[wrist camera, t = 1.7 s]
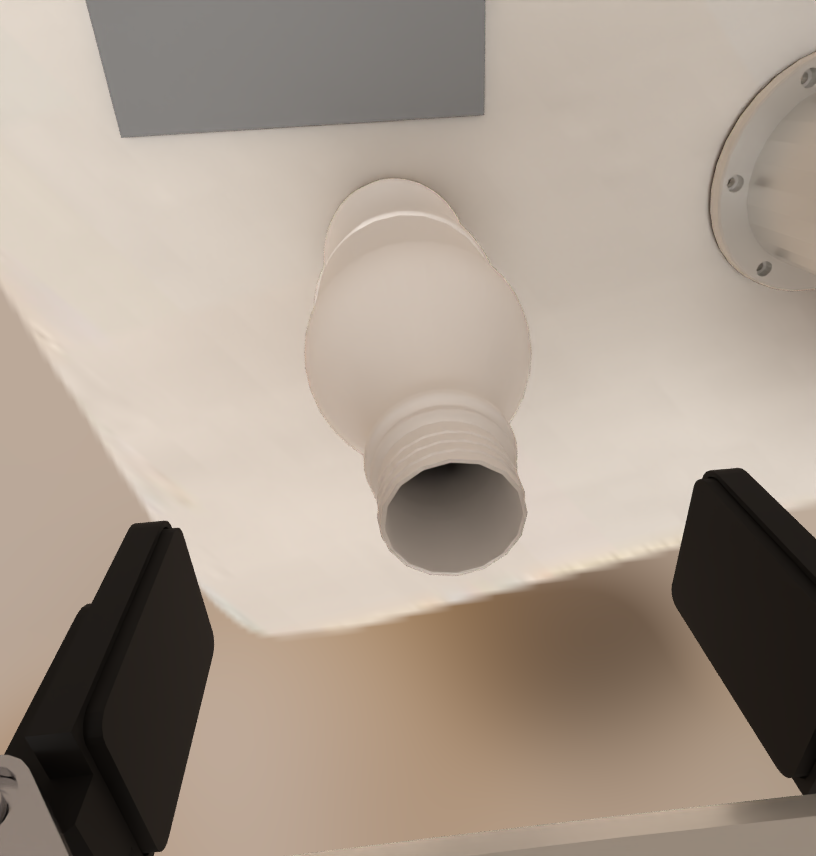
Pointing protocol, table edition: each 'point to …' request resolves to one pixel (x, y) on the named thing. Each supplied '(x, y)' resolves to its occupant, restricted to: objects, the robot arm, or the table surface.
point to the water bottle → (422, 374)
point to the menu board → (287, 62)
